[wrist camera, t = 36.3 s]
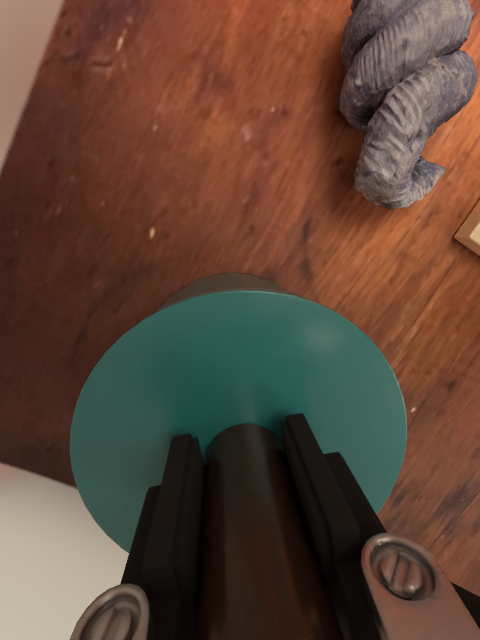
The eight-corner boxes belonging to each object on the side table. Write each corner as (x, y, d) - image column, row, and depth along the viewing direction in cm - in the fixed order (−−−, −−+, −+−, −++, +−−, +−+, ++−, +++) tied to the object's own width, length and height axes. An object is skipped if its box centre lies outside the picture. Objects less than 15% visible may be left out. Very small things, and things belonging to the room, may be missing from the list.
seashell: (387, 210, 18) (349, 17, 16) (504, 175, 14) (476, -95, 12) (341, 229, 15) (285, -9, 13) (475, 191, 11) (429, -175, 8)
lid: (39, 317, 9) (-345, 476, 3) (384, 258, 10) (709, 287, 3) (129, 578, 12) (32, 947, 6) (394, 526, 13) (578, 822, 6)
